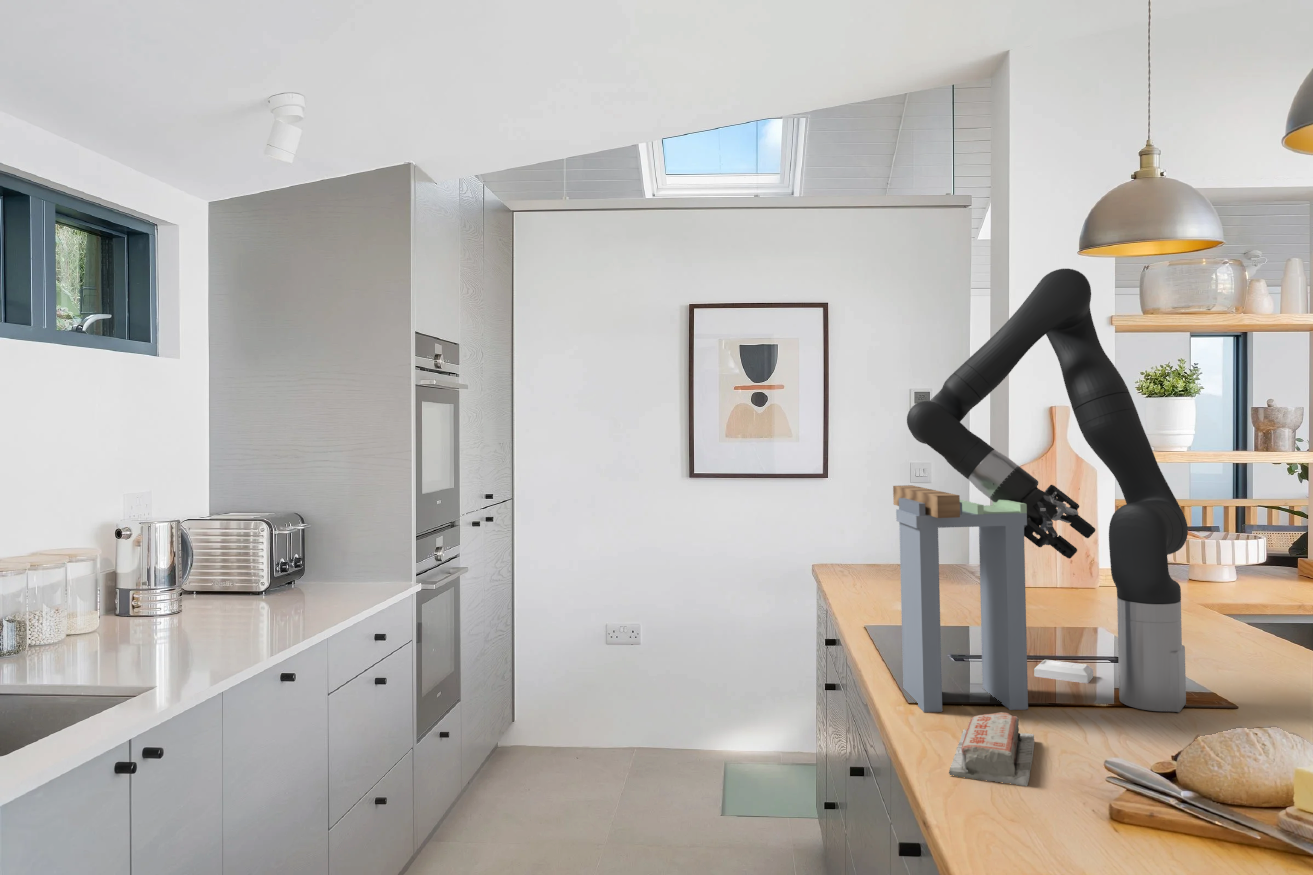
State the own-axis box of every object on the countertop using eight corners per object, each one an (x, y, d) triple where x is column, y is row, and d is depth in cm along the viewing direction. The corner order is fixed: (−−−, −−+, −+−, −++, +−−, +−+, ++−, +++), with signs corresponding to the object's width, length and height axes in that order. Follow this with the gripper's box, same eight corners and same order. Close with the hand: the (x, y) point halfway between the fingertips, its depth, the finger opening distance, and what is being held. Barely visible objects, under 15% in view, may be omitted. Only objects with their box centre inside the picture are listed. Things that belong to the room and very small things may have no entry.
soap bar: (1087, 685, 160) (1087, 670, 160) (1034, 678, 166) (1034, 663, 166) (1093, 678, 164) (1092, 664, 164) (1041, 672, 170) (1040, 658, 170)
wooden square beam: (893, 504, 168) (893, 485, 168) (912, 503, 168) (911, 485, 168) (937, 517, 142) (937, 495, 142) (960, 517, 142) (959, 495, 142)
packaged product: (1028, 753, 116) (947, 743, 120) (1029, 790, 116) (948, 779, 120) (1034, 711, 132) (962, 704, 136) (1035, 744, 132) (963, 736, 136)
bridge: (900, 690, 158) (895, 498, 158) (1002, 688, 159) (998, 495, 158) (920, 712, 146) (916, 503, 146) (1031, 709, 147) (1026, 500, 146)
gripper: (995, 483, 151) (1079, 549, 144) (1031, 451, 160) (1112, 512, 153) (973, 511, 156) (1053, 577, 150) (1009, 479, 165) (1086, 539, 159)
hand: (1083, 544), depth 152 cm, fingers open, 7 cm apart
